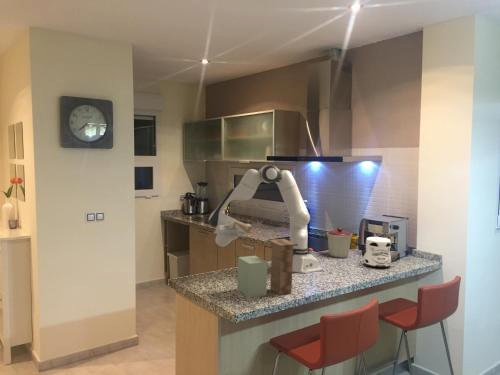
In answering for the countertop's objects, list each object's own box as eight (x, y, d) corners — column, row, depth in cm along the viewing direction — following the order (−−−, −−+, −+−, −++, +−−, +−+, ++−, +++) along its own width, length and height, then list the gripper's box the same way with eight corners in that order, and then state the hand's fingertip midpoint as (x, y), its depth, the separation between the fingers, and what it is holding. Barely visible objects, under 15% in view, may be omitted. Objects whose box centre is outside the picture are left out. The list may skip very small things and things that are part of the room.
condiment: (356, 250, 326) (357, 234, 325) (345, 248, 330) (346, 233, 329) (359, 248, 332) (359, 233, 331) (348, 247, 336) (349, 232, 336)
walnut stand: (282, 286, 228) (283, 238, 226) (295, 294, 216) (297, 244, 214) (265, 288, 224) (267, 239, 222) (278, 296, 211) (280, 245, 210)
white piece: (379, 270, 267) (381, 242, 266) (358, 264, 281) (359, 238, 280) (396, 267, 277) (397, 240, 276) (374, 261, 291) (375, 235, 290)
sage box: (254, 287, 225) (255, 255, 224) (266, 295, 213) (267, 262, 211) (237, 289, 221) (238, 257, 220) (248, 297, 208) (249, 263, 207)
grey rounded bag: (381, 255, 312) (373, 260, 296) (381, 244, 312) (373, 248, 295) (402, 258, 304) (395, 263, 287) (402, 246, 304) (395, 251, 287)
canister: (347, 260, 291) (348, 230, 290) (322, 256, 300) (323, 227, 299) (354, 255, 307) (355, 227, 305) (330, 252, 316) (331, 224, 314)
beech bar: (237, 226, 237) (237, 220, 237) (252, 233, 219) (252, 226, 219) (232, 227, 236) (232, 220, 236) (247, 233, 218) (247, 226, 217)
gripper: (211, 228, 241) (219, 219, 229) (244, 226, 249) (253, 218, 238) (213, 238, 238) (221, 230, 227) (246, 236, 247) (255, 228, 235)
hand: (237, 224), depth 232 cm, fingers closed on beech bar, 3 cm apart
